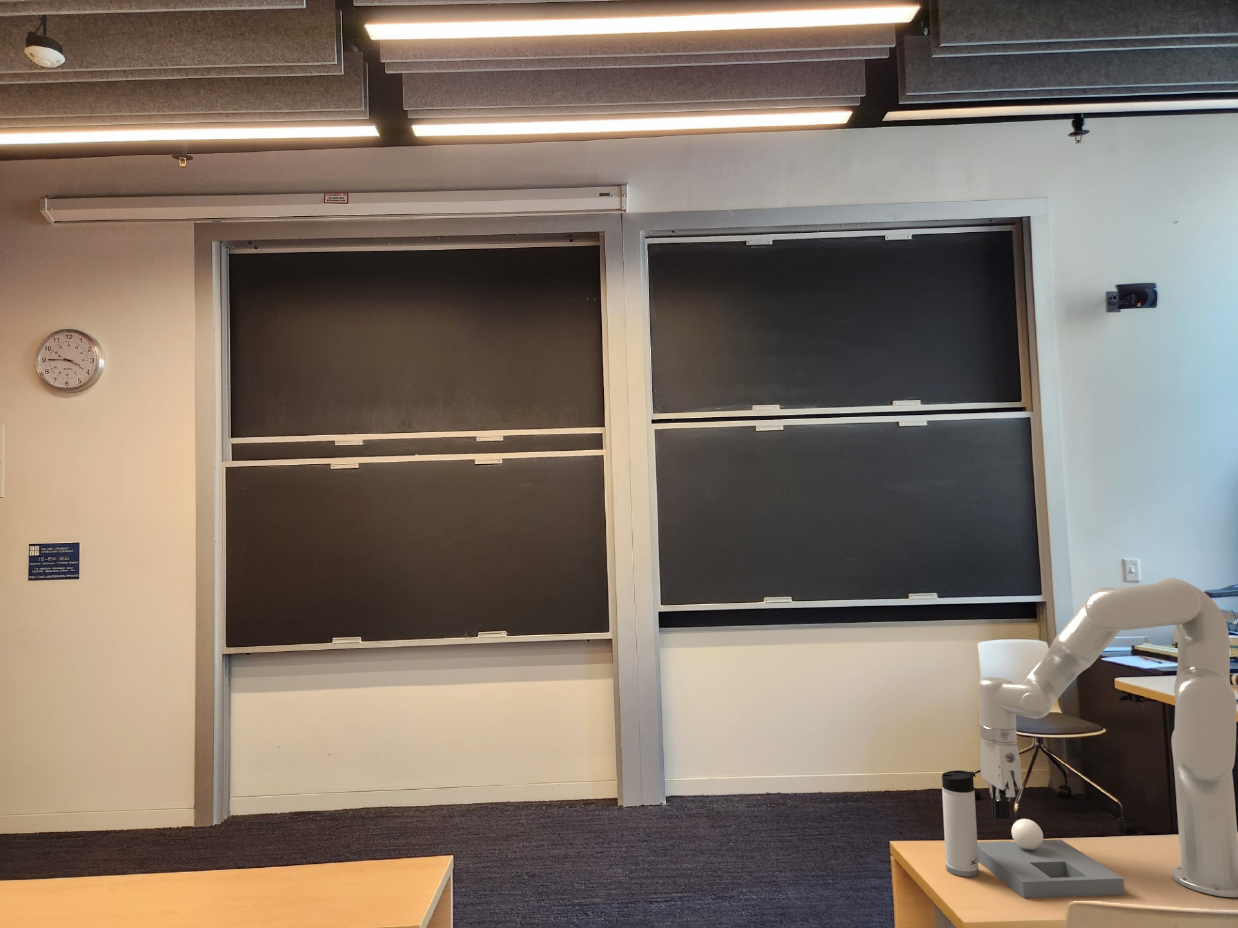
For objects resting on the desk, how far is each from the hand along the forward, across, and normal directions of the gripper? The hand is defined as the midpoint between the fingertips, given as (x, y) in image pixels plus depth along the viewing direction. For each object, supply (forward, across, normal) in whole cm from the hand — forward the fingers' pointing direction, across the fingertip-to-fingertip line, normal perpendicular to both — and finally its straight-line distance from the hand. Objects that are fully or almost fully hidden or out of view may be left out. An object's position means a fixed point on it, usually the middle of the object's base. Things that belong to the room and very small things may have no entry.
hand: (1000, 817), depth 178 cm
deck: (+6, -15, 0) cm, 16 cm away
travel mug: (+6, -12, +15) cm, 21 cm away
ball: (0, -10, 0) cm, 10 cm away
